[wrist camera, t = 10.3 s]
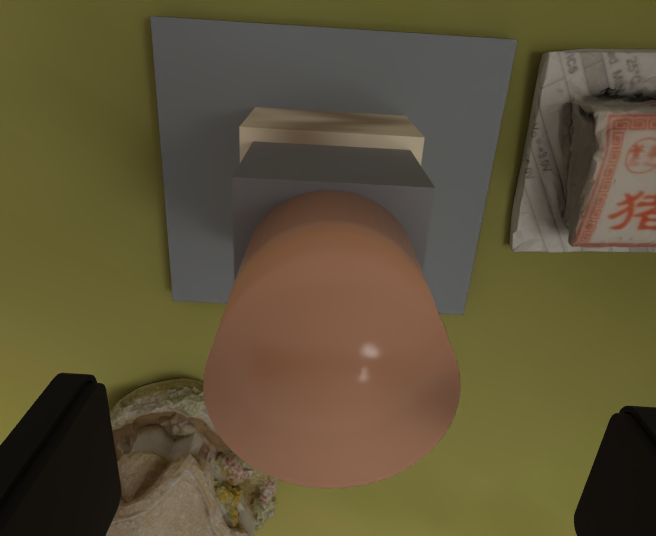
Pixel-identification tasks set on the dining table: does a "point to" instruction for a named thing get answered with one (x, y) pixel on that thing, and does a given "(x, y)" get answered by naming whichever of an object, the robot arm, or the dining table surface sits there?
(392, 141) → the birch block
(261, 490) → the stuffed bread roll
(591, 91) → the packaged product
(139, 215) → the dining table surface
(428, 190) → the charcoal block
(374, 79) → the slate mat
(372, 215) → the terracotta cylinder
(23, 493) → the robot arm
